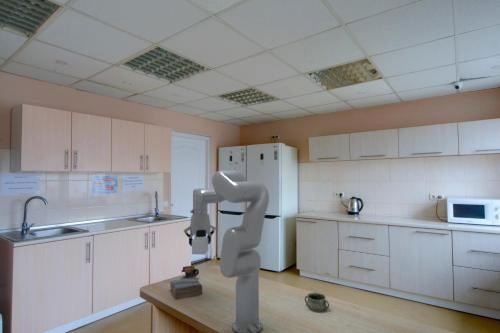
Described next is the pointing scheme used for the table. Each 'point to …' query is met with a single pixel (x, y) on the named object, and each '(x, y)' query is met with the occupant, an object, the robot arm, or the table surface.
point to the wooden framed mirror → (186, 288)
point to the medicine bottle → (200, 243)
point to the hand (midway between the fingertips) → (200, 244)
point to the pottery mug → (190, 272)
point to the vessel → (316, 301)
